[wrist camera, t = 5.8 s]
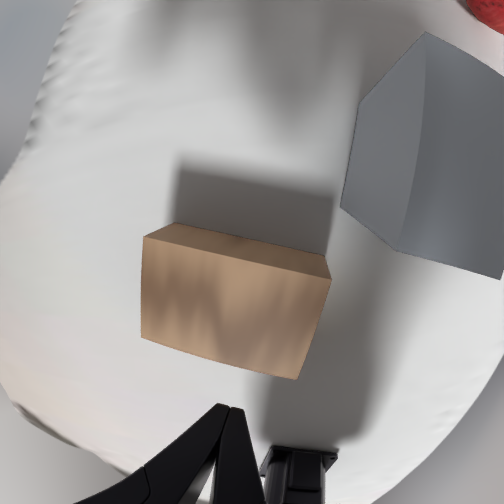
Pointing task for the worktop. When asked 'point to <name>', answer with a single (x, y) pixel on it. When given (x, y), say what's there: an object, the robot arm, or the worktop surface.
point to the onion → (489, 13)
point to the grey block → (433, 159)
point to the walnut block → (231, 298)
